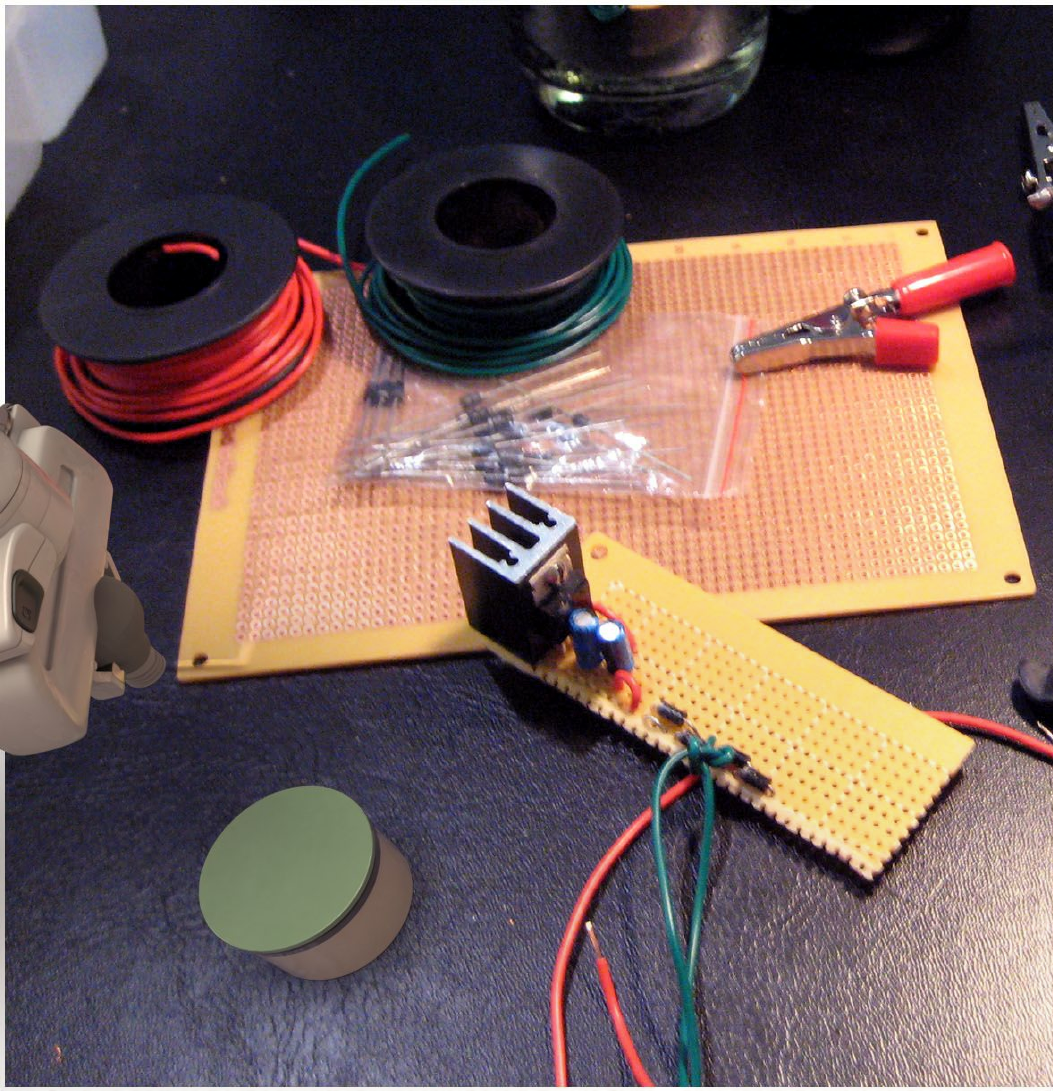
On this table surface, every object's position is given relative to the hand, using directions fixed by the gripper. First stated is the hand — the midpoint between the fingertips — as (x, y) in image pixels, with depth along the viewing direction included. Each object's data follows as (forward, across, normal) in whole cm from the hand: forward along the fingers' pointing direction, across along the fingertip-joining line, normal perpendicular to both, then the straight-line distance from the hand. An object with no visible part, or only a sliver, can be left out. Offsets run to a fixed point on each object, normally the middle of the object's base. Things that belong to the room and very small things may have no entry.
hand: (117, 647), depth 77 cm
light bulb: (+4, 0, 0) cm, 4 cm away
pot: (+22, +12, +5) cm, 25 cm away
